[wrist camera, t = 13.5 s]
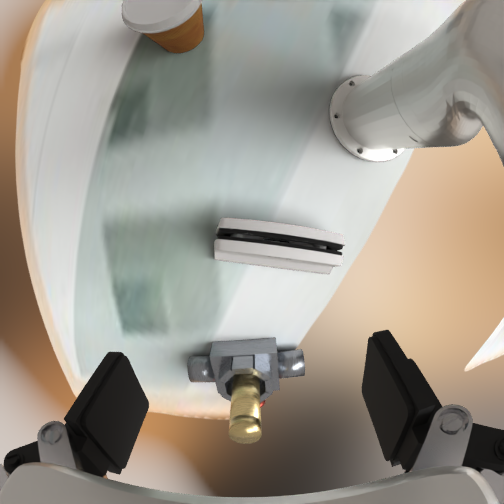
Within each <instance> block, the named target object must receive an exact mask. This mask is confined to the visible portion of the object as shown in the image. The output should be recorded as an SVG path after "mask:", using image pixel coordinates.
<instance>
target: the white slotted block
mask: <svg viewBox="0 0 504 504" xmlns="http://www.w3.org/2000/svg"><path fill="white" fill-rule="evenodd" d="M216 233H217V236H218V238H217V239H216V240H215V242H214V256H215V260H220V261H227V262H235V263H242V264H250V265H258V266H266V267H273V268H281V269H289V270H297V271H305V272H313V273H322V274H330V272H331V270H332V268H333V267H335V266H341V264H342V261H343V257H344V256H342V252H339V251H337V250H340V249H342V248H343V246H345V241H344V235H342V234H338V233H334V232H329V231H325V230H320V229H314V228H309V227H303V226H297V225H290V224H284V223H276V222H268V221H259V220H249V219H237V218H221V219H220V222H219V224H218V227H217V230H216ZM265 238H269V239H277V240H284V241H288V242H289V243H290V244H289V243H282V242H275V241H267V240H263V239H265Z"/></svg>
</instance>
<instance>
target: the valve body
mask: <svg viewBox="0 0 504 504" xmlns="http://www.w3.org/2000/svg"><path fill="white" fill-rule="evenodd" d="M248 373H252V374H254V375H256V376H257V377H259V380H260V408H261V407H262V406H263V405H264V404H265V399H266V398H268V397H269V396H270V395H271V394H272V393H273V391H274V390H279V389H280V388H279V378H289V377H298V376H304V375H305V364H304V356H303V351H302V349H300V350H290V351H281V352H277V345H276V338H265V339H252V340H238V341H219V342H213V343H212V348H211V352H210V356H191V357H189V360H188V376H189V379H190V381H191V382H216V386H217V390H218V393H220V394H221V395H222V397H223V398H225V399H227V400H229V401H231V397H232V384H233V375H234V374H248Z"/></svg>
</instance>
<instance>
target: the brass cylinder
mask: <svg viewBox="0 0 504 504" xmlns="http://www.w3.org/2000/svg"><path fill="white" fill-rule="evenodd" d="M229 437H230V439H231V440H233V441H235V442H238V443H243V444H246V443H247V444H248V443H253V442H256V441H258V440H259V439H260V438H261V411H260V380H259V377H257V376H256V375H254V374H252V373H248V374H234V375H233V384H232V397H231V410H230V423H229Z"/></svg>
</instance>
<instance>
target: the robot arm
mask: <svg viewBox="0 0 504 504" xmlns="http://www.w3.org/2000/svg"><path fill="white" fill-rule="evenodd" d="M349 84H351V86H350V85H349ZM329 112H330V121H331V125H332V128H333V130H334V133H335V135H336V137H337V138H338V140H339V141H340V143H341V144H342V145H343V146H344V147H345V148H346V149H347V150H348V151H349V152H351V153H352V154H353V155H355V156H357V157H359V158H361V159H364V160H367V161H372V162H384V161H388V160H391V159H393V158H396V157H397V156H398V155H400V154H401V153H402V152H403V151H404V150H405V149H407V148H425V147H451V146H458V145H462V144H465V143H467V142H468V141H470V140H471V139H472V138H474V137H475V136H476V135H477V134H478V132H479V131H480V130H481V128H482V126H484V127H485V129H486V131H487V133H488V134H489V136H490V139H491V141H492V143H493V145H494V146H495V148H496V149H497V152H498V154H499V156H500V158H501V161H502V163H503V166H504V0H466V1H464V2H463V3H462V4H461V5H460V6H459V7H458V8H457V9H456V10H455V11H454V12H453V13H452V14H451V15H450V16H449V17H448V19H447V20H446V21H445V22H444V23H443V24H442V25H441V26H440V27H439V28H438V29H437V30H436V31H435V32H433V33H432V34H431V35H430V36H429V37H428V38H426V39H425V40H423V41H422V42H421V43H419V44H418V45H416V46H415V47H414V48H412V49H411V50H409V51H408V52H406V53H405V54H403V55H402V56H400V57H399V58H397V59H396V60H394V61H393V62H391V63H390V64H388V65H387V66H385V67H384V68H382V69H381V70H380V71H378V72H377V73H375V74H374V75H372V76H369V75H360V76H355V77H352V78H350V79H348V80H346V81H345V82H343V83H342V84H341V85H340V86H339V87H338V88H337V89H336V91H335V93H334V94H333V96H332V99H331V102H330V110H329ZM334 115H336V116H337V118H335V117H334ZM357 149H358V150H359V153H358V152H357ZM393 151H394V153H393ZM362 394H363V397H364V400H365V403H366V406H367V408H368V411H369V414H370V417H371V419H372V422H373V425H374V428H375V431H376V434H377V437H378V440H379V443H380V446H381V448H382V452H383V455H384V458H385V460H386V461H389V460H390V462H391V465H392V467H393V466H396V465H399V464H401V465H402V468H403V469H404V470H405V471H404V473H403V474H400V475H397V476H393V477H389V478H385V479H381V480H377V481H373V482H369V483H365V484H361V485H356V486H351V487H346V488H341V489H336V490H329V491H323V492H317V493H309V494H301V495H290V496H277V497H255V498H254V497H253V498H252V497H251V498H239V497H237V498H236V497H211V496H198V495H189V494H180V493H172V492H166V491H160V490H154V489H149V488H144V487H139V486H134V485H130V484H125V483H121V482H118V481H114V480H110V479H108V478H107V475H106V473H107V470H108V471H109V472H112V473H116V474H120V473H121V471H122V469H124V468H125V467H126V465H127V462H128V460H129V457H130V454H131V452H132V449H133V446H134V444H135V441H136V439H137V436H138V433H139V431H140V428H141V426H142V423H143V421H144V418H145V416H146V413H147V411H148V408H149V402H148V399H147V398H146V396H145V394H144V392H143V390H142V388H141V385H140V383H139V381H138V379H137V377H136V375H135V373H134V371H133V368H132V366H131V364H130V362H129V359H128V358H127V357H126V356H124V354H123V353H121V352H108V353H107V355H106V356H105V357H104V359H103V360H102V362H101V363H100V365H99V366H98V368H97V369H96V370H95V372H94V373H93V375H92V376H91V378H90V379H89V381H88V382H87V384H86V385H85V387H84V388H83V390H82V391H81V393H80V394H79V396H78V397H77V399H76V401H75V402H74V404H73V405H72V407H71V408H70V410H69V411H68V413H67V415H66V416H65V418H64V420H65V421H66V424H65V425H64V424H63V423H61V422H59V421H52V422H48V423H46V424H45V425H44V426H42V427H41V429H40V430H39V432H38V438H37V439H38V441H36V442H33V443H30V444H28V445H25V446H22V447H19V448H17V449H14V450H12V451H10V452H9V453H8V454H7V455H6V457H5V459H4V466H3V465H2V464H0V504H504V430H501V429H496V428H492V427H487V426H483V425H479V424H475V423H472V422H473V419H472V416H471V414H470V412H469V411H468V410H467V409H466V408H464V407H463V406H460V405H453V404H451V405H446V406H444V407H442V405H441V404H440V402H439V400H438V399H437V397H436V396H435V394H434V392H433V390H432V389H431V387H430V386H429V384H428V382H427V381H426V379H425V377H424V376H423V374H422V373H421V371H420V370H419V368H418V366H417V365H416V363H415V362H414V361H413V360H412V359H407V357H406V356H405V354H404V352H403V351H402V349H401V348H400V346H399V345H398V343H397V342H396V340H395V339H394V337H393V336H392V334H391V333H390V331H389V330H384V331H379V332H374V333H373V336H372V337H369V339H368V346H367V354H366V362H365V370H364V376H363V383H362Z"/></svg>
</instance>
